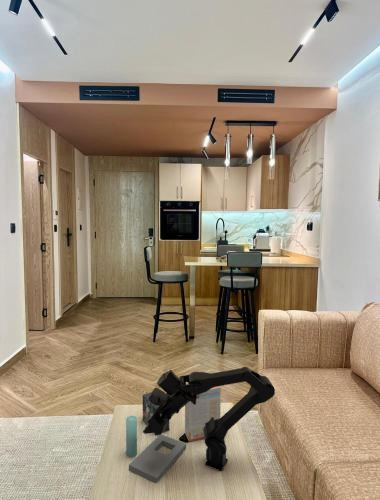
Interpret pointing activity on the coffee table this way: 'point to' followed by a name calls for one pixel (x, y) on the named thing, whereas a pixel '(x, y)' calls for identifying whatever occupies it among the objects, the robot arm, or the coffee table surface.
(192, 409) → the cracker box
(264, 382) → the robot arm
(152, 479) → the socket plate
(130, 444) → the peg
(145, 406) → the small box
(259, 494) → the coffee table surface
